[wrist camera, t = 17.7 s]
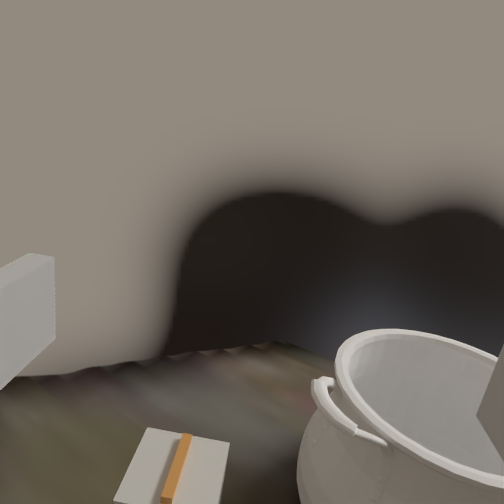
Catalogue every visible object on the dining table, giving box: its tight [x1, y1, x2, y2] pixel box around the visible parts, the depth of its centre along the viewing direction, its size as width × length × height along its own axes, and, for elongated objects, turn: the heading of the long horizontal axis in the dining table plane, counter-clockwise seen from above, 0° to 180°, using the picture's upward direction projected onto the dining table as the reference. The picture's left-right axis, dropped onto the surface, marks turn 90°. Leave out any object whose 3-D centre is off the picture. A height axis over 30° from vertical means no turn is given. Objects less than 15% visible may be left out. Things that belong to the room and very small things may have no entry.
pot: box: [297, 329, 504, 504], centre depth 41 cm, size 28×24×17 cm
